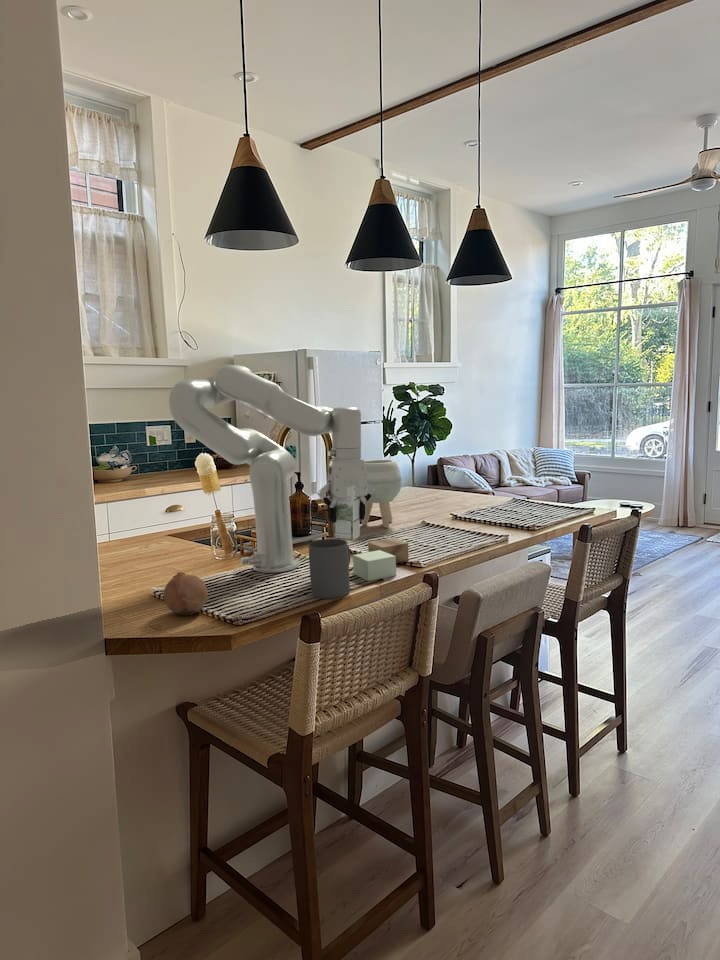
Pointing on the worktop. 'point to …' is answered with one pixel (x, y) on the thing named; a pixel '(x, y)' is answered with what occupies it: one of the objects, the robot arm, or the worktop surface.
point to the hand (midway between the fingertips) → (346, 519)
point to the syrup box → (347, 516)
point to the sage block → (374, 565)
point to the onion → (185, 594)
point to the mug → (329, 568)
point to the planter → (382, 487)
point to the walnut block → (391, 548)
